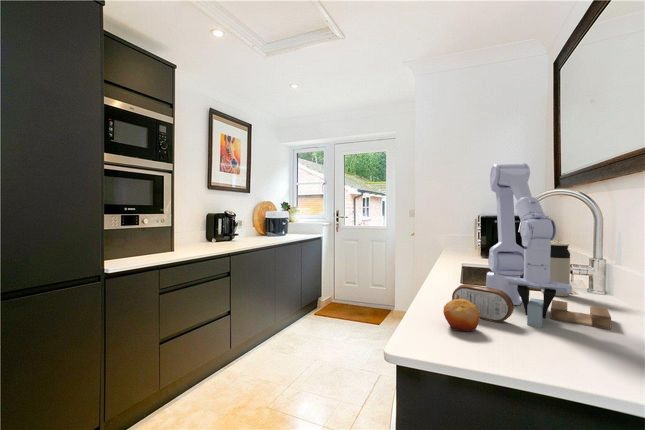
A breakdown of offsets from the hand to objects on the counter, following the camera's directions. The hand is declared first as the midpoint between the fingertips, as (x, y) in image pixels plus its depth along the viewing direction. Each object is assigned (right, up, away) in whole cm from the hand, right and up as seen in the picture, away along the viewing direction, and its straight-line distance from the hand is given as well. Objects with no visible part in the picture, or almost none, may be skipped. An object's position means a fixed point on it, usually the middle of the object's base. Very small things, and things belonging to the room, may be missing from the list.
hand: (535, 316), depth 83 cm
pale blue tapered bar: (0, -2, 0) cm, 2 cm away
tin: (-13, -2, +3) cm, 14 cm away
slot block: (+13, -2, +2) cm, 14 cm away
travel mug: (+26, -2, +29) cm, 39 cm away
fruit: (-22, -2, -6) cm, 23 cm away
